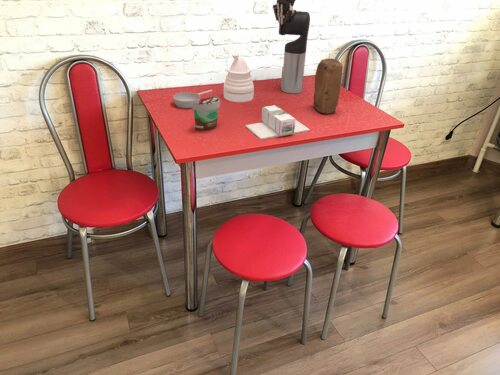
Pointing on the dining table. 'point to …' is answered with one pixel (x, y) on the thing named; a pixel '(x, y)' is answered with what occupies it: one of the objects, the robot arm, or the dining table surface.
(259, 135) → the mat
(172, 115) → the dining table surface
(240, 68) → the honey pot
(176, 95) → the saucepan
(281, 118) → the syrup box
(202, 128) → the food container
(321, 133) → the dining table surface
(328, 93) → the block
